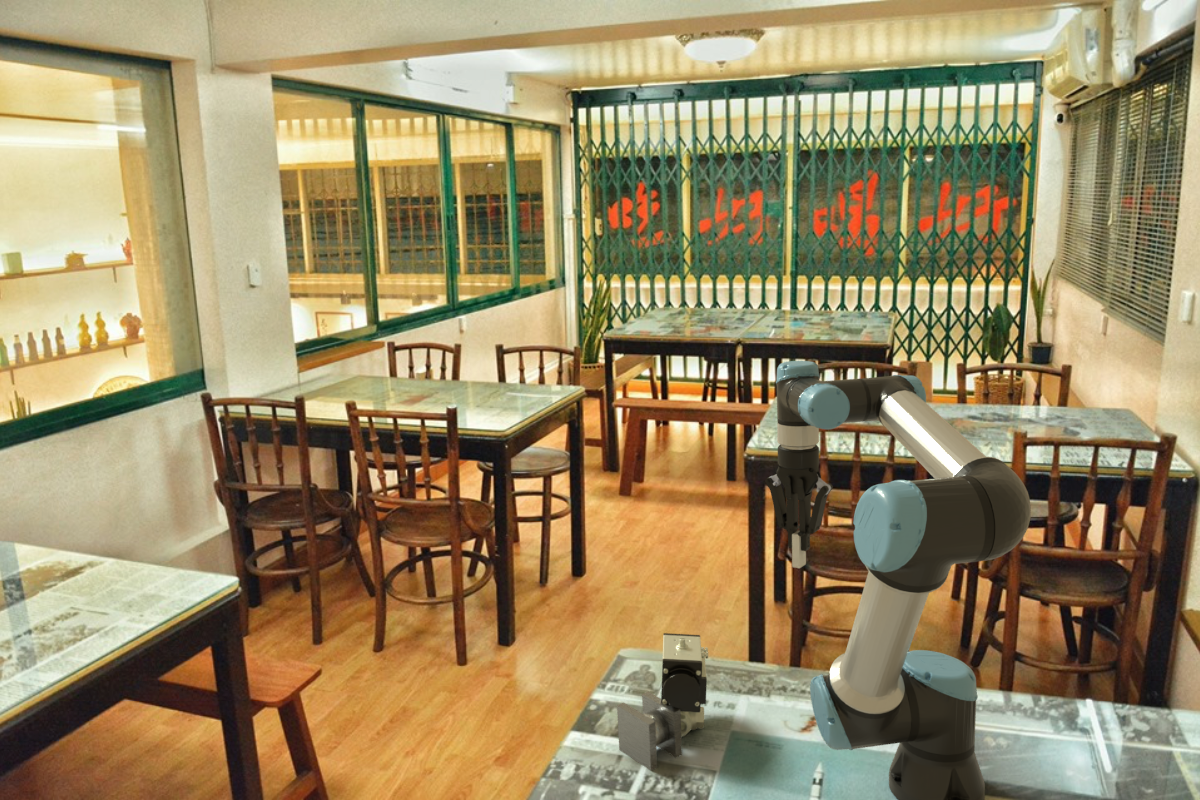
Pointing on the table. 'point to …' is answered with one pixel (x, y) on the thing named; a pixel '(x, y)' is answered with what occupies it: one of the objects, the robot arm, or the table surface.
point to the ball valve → (684, 678)
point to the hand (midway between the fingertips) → (799, 565)
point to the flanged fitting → (649, 730)
